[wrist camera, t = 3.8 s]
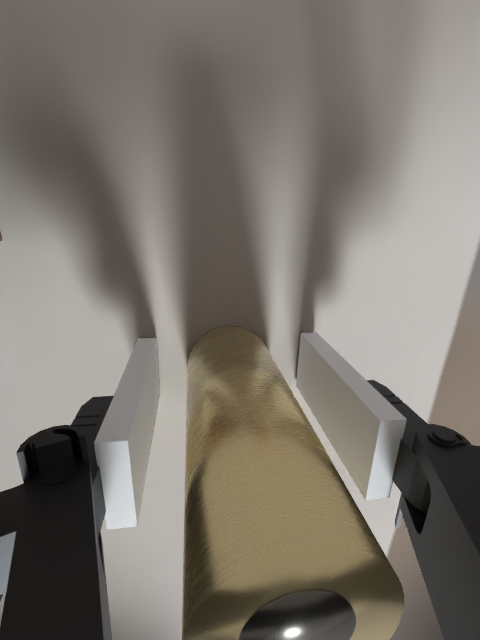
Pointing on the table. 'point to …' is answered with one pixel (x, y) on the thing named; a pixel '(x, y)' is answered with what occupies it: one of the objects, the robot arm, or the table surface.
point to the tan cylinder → (270, 513)
